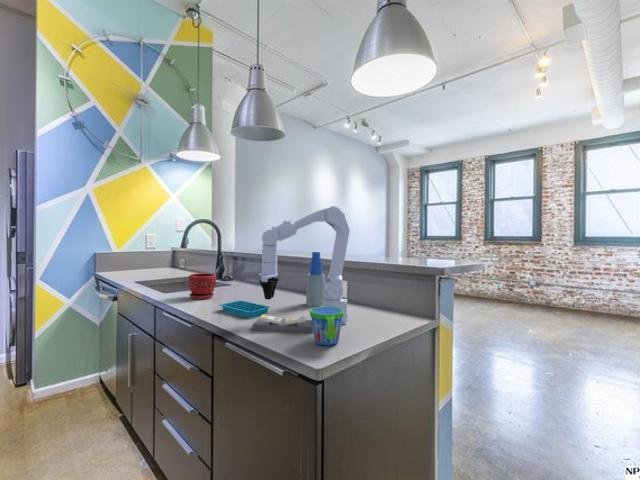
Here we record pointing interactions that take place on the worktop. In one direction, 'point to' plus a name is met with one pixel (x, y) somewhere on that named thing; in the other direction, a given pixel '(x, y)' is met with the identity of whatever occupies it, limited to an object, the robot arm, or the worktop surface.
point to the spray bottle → (315, 282)
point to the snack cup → (326, 324)
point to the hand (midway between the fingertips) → (269, 298)
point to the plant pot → (202, 285)
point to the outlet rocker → (270, 319)
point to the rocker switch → (295, 320)
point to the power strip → (283, 326)
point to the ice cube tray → (245, 309)
